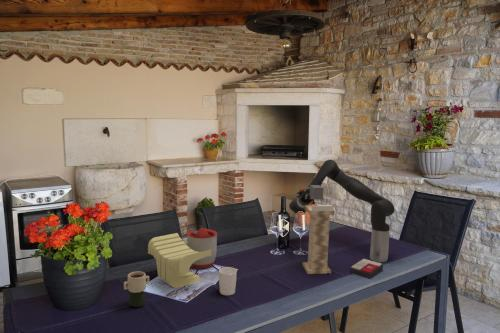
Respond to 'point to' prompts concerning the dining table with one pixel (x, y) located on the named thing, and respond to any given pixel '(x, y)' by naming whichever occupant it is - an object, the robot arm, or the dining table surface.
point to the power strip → (322, 207)
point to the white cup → (227, 280)
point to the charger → (316, 191)
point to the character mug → (136, 288)
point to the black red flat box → (366, 268)
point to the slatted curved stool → (175, 259)
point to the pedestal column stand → (318, 241)
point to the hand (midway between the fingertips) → (312, 189)
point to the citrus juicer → (203, 246)
